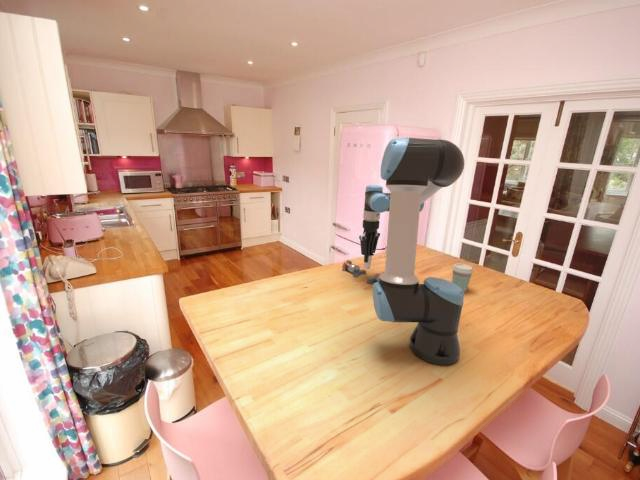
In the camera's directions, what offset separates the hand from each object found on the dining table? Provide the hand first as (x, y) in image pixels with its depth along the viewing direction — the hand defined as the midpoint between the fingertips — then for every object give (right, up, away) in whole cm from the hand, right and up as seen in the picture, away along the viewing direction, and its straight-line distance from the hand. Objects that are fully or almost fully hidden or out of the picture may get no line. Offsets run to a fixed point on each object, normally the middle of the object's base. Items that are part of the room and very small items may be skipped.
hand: (366, 268), depth 142 cm
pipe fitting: (0, -6, +2) cm, 6 cm away
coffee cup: (+41, -10, -6) cm, 43 cm away
